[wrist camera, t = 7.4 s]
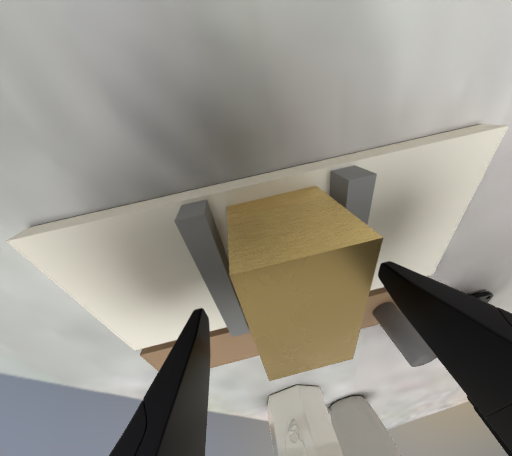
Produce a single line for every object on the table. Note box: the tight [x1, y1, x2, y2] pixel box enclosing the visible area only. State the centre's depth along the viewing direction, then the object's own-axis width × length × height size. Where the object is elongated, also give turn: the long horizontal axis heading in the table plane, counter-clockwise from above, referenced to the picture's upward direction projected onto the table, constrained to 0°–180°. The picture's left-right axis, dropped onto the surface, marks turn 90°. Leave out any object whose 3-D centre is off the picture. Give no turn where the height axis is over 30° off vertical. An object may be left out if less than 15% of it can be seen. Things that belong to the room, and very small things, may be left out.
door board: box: [6, 124, 508, 371], centre depth 12 cm, size 24×16×5 cm
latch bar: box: [227, 186, 383, 381], centre depth 9 cm, size 8×4×4 cm, turn 11°
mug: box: [330, 396, 401, 456], centre depth 32 cm, size 13×9×10 cm
